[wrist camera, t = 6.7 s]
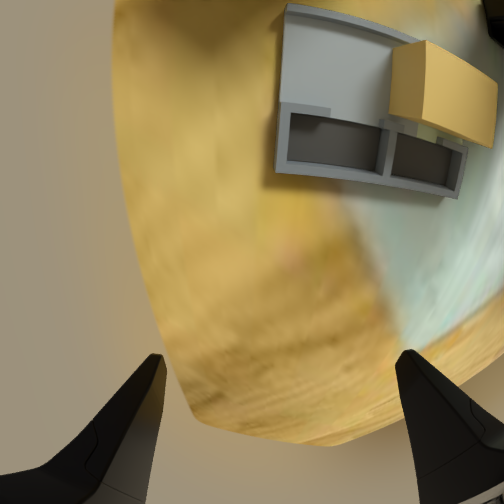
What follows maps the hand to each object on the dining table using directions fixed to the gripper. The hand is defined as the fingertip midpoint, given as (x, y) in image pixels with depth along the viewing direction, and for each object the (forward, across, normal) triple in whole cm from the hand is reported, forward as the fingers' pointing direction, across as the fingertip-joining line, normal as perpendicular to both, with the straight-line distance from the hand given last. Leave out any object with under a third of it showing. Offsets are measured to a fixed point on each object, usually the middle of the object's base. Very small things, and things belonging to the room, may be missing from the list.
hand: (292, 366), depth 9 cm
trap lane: (+12, -7, -10) cm, 17 cm away
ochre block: (+11, -11, -11) cm, 19 cm away
